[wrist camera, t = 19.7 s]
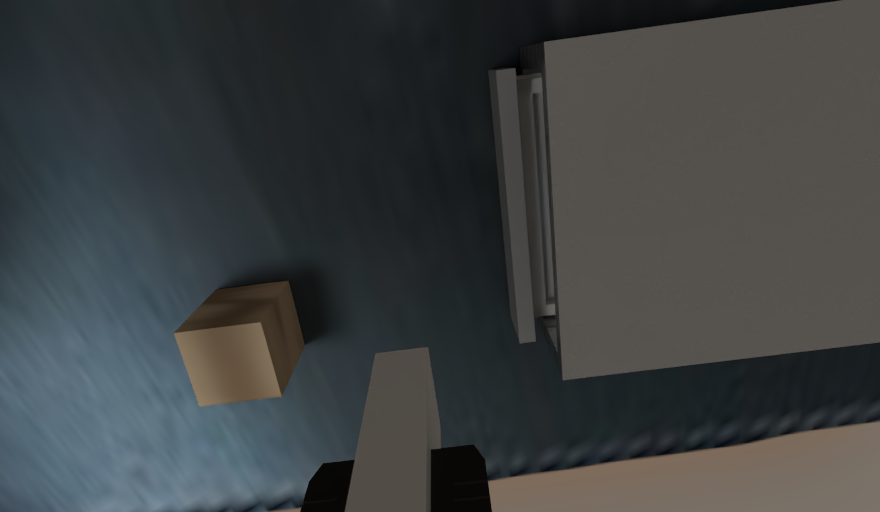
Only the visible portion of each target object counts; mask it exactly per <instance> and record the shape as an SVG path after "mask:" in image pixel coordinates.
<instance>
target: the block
mask: <svg viewBox="0 0 880 512" xmlns="http://www.w3.org/2000/svg"><path fill="white" fill-rule="evenodd" d="M174 335H175V338H176V341H177V343H178V346H179V349H180V352H181V355H182V358H183V361H184V363H185V366H186V369H187V372H188V375H189V378H190V381H191V383H192V386H193V389H194V392H195V395H196V398H197V400H198V403H199V406H207V405H216V404H224V403H232V402H241V401H249V400H257V399H265V398H274V397H282V395H283V392H284V390H285V388H286V386H287V384H288V381H289V379H290V377H291V375H292V373H293V370H294V368H295V366H296V364H297V362H298V359H299V357H300V355H301V353H302V351H303V348H304V346H305V344H304V340H303V336H302V332H301V328H300V324H299V320H298V316H297V312H296V308H295V304H294V300H293V296H292V292H291V288H290V284H289V281H281V282H273V283H265V284H257V285H249V286H242V287H234V288H226V289H218V290H215V291H214V292H213V293H212V294H211V295H210V296H209V297H208V298H207V299H206V300H205V301H204V302H203V303H202V304H201V306H200V307H199V308H198V309H197V310H196V311H195V312H194V313H193V314H192V315H191V316H190V317H189V318H188V319H187V320H186V321H185V322H184V323H183V324H182V325H181V326H180V327H179V328H178V329H177V330H176V331H175V332H174Z"/></svg>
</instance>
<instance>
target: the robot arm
mask: <svg viewBox="0 0 880 512" xmlns="http://www.w3.org/2000/svg"><path fill="white" fill-rule="evenodd" d="M300 512H492V509H491V502H490V494H489V487H488V480H487V472H486V465H485V459H484V458H483V457H482V455H481V454H480V453H479V451H478V450H477V448H476V447H475V446H474V445H465V446H457V447H448V448H441V432H440V421H439V414H438V408H437V402H436V395H435V389H434V383H433V376H432V370H431V364H430V357H429V351H428V347H425V348H416V349H408V350H400V351H392V352H384V353H376V354H375V359H374V364H373V369H372V374H371V379H370V384H369V389H368V395H367V400H366V405H365V410H364V415H363V420H362V425H361V431H360V436H359V441H358V446H357V451H356V456H355V460H349V461H341V462H332V463H323V464H322V466H321V467H320V468H319V469H318V471H317V472H316V473H315V475H314V476H313V477H312V479H311V480H310V481H309V484H308V488H307V491H306V494H305V498H304V505H302V508H301V511H300Z"/></svg>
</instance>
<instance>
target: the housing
mask: <svg viewBox="0 0 880 512" xmlns="http://www.w3.org/2000/svg"><path fill="white" fill-rule="evenodd" d="M519 53H520V67H521V75H527V74H534V73H541V76H542V93H543V110H544V127H545V144H546V162H547V179H548V196H549V213H550V230H551V248H552V265H553V282H554V299H555V315H550V316H542V317H538V320H539V325H540V327H541V330H542V332H543V334H544V337H545V339H546V341H547V344H548V346H549V349H550V351H551V353H552V356H553V358H554V361H555V363H556V365H557V368H558V370H559V373H560V375H561V377H562V380H568V379H577V378H585V377H593V376H602V375H610V374H619V373H627V372H635V371H644V370H652V369H660V368H669V367H677V366H685V365H694V364H702V363H711V362H719V361H727V360H736V359H744V358H752V357H761V356H769V355H778V354H786V353H794V352H803V351H811V350H819V349H828V348H836V347H844V346H853V345H861V344H870V343H878V342H880V0H841V1H834V2H827V3H819V4H812V5H805V6H798V7H791V8H783V9H776V10H769V11H762V12H755V13H748V14H740V15H733V16H726V17H719V18H712V19H705V20H697V21H690V22H683V23H676V24H669V25H662V26H654V27H647V28H640V29H633V30H626V31H619V32H611V33H604V34H597V35H590V36H583V37H576V38H568V39H561V40H554V41H547V42H541V43H537V44H532V45H527V46H523V47H519Z"/></svg>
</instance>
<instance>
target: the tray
mask: <svg viewBox="0 0 880 512" xmlns="http://www.w3.org/2000/svg"><path fill="white" fill-rule="evenodd" d="M488 74H489V85H490V95H491V106H492V117H493V128H494V139H495V150H496V161H497V172H498V182H499V193H500V204H501V215H502V226H503V237H504V248H505V259H506V270H507V280H508V291H509V302H510V313H511V318H512V321H513V324H514V327H515V330H516V334H517V337H518V340H519V343H527V342H535V341H536V338H535V325H534V317H542V316H550V315H555V299H554V282H553V265H552V248H551V230H550V213H549V196H548V179H547V162H546V144H545V127H544V110H543V93H542V76H541V73H534V74H527V75H520V76H516V70H515V68H500V69H493V70H488Z"/></svg>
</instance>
